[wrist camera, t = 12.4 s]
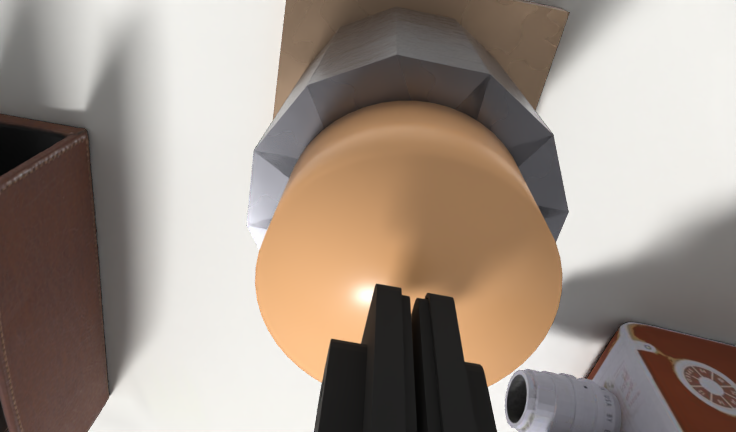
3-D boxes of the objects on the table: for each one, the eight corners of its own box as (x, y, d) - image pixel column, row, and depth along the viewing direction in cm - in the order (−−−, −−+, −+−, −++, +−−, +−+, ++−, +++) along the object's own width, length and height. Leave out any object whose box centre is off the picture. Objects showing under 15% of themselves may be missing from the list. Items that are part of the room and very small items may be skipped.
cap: (537, 99, 18) (613, 190, 12) (474, 280, 21) (506, 424, 15) (316, 53, 17) (271, 122, 11) (288, 245, 21) (243, 378, 15)
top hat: (562, 8, 24) (678, 64, 14) (483, 235, 30) (528, 389, 20) (295, -49, 23) (223, -32, 14) (268, 194, 29) (202, 331, 19)
